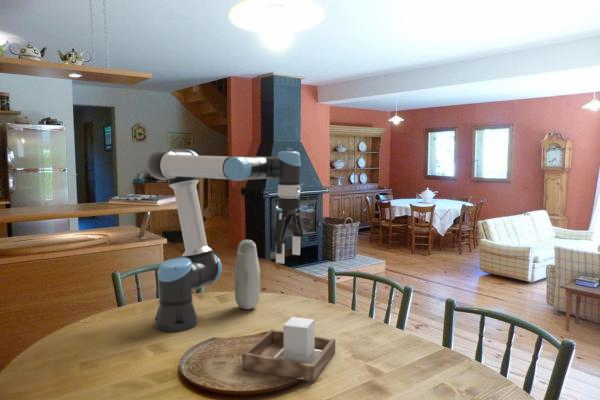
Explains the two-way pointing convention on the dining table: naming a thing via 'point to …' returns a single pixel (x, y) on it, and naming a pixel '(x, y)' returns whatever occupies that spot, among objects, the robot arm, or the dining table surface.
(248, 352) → the crate
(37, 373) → the dining table surface
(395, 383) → the dining table surface
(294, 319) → the supplement box
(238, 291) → the grey rounded cylinder
